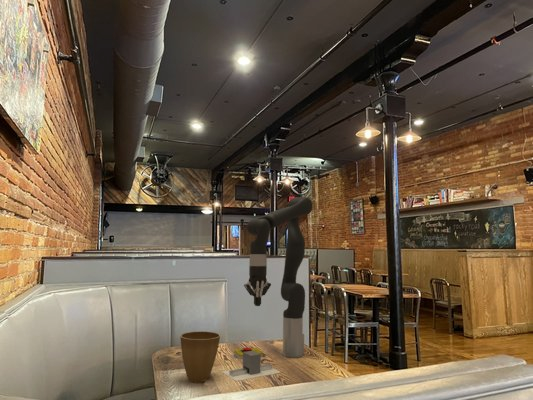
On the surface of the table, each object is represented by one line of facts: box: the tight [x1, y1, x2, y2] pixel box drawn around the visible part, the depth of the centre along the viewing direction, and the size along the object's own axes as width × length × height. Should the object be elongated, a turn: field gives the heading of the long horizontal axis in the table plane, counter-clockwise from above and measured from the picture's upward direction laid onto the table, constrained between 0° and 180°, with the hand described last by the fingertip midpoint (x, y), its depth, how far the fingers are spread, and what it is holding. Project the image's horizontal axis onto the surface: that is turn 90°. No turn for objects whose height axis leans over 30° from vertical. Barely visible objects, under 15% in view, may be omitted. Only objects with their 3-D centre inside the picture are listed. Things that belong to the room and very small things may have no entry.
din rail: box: [229, 363, 273, 377], centre depth 145 cm, size 18×2×2 cm, turn 123°
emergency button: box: [230, 346, 264, 360], centre depth 169 cm, size 9×4×15 cm
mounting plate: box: [221, 363, 282, 383], centre depth 145 cm, size 20×12×1 cm, turn 123°
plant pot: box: [179, 330, 221, 383], centre depth 139 cm, size 15×15×16 cm
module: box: [242, 351, 262, 375], centre depth 146 cm, size 4×6×7 cm
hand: (257, 305), depth 159 cm, fingers closed
